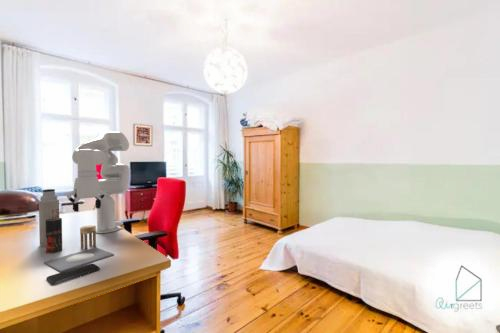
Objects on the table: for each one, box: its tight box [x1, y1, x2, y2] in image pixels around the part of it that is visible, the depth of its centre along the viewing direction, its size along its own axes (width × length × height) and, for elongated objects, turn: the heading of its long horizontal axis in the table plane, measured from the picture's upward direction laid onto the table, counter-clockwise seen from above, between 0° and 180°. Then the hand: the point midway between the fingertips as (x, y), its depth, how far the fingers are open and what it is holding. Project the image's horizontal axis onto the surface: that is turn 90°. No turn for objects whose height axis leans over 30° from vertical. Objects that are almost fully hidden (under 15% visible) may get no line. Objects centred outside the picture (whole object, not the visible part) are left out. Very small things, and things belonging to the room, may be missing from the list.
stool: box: [79, 224, 97, 250], centre depth 119 cm, size 6×6×10 cm
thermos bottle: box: [38, 188, 60, 248], centre depth 124 cm, size 8×8×28 cm
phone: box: [46, 263, 101, 286], centre depth 90 cm, size 8×1×15 cm
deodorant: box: [45, 217, 63, 255], centre depth 114 cm, size 6×6×15 cm
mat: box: [43, 246, 115, 273], centre depth 105 cm, size 20×16×1 cm
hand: (87, 209), depth 118 cm, fingers open, 9 cm apart
